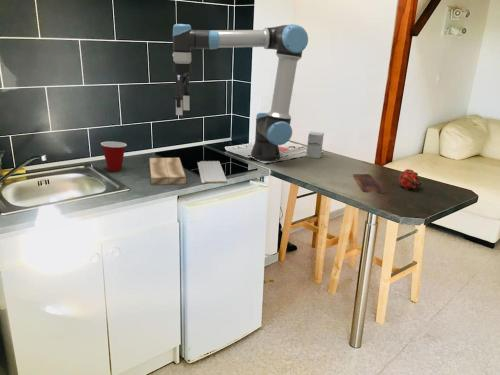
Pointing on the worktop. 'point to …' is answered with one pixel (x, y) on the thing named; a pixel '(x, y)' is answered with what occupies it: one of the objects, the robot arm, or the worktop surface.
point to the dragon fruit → (409, 179)
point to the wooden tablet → (368, 183)
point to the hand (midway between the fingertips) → (182, 112)
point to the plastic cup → (114, 154)
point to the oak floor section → (167, 171)
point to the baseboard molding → (211, 172)
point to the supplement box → (314, 144)
